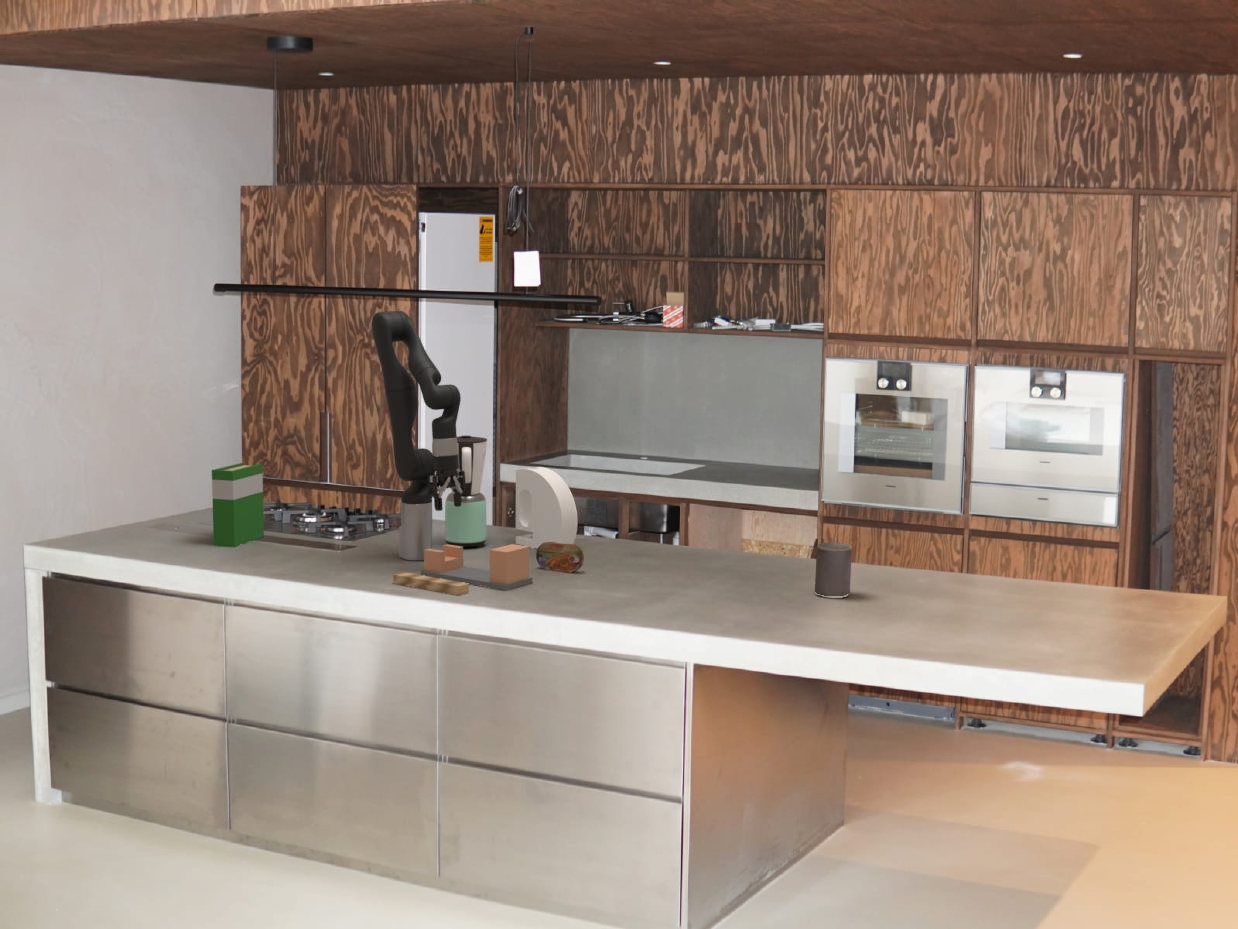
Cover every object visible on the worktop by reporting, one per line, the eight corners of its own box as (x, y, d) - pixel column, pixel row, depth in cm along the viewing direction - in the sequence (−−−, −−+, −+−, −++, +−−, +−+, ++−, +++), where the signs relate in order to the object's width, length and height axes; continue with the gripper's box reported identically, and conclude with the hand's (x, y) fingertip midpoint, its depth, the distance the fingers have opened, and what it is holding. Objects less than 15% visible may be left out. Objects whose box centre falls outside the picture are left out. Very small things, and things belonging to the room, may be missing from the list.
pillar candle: (807, 592, 390) (809, 539, 387) (838, 589, 393) (840, 536, 391) (826, 600, 381) (828, 546, 379) (857, 597, 385) (859, 543, 382)
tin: (535, 568, 415) (535, 540, 414) (540, 566, 418) (541, 539, 417) (579, 574, 408) (580, 546, 407) (585, 572, 411) (585, 544, 410)
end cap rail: (420, 575, 404) (420, 539, 402) (448, 568, 414) (448, 533, 412) (505, 590, 387) (506, 553, 385) (532, 583, 397) (532, 546, 395)
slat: (393, 585, 394) (393, 574, 393) (403, 582, 397) (403, 572, 396) (459, 597, 380) (459, 586, 380) (468, 594, 384) (468, 583, 383)
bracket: (530, 542, 455) (530, 465, 452) (577, 551, 441) (577, 471, 438) (515, 545, 450) (515, 467, 447) (562, 554, 436) (562, 474, 433)
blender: (443, 540, 455) (443, 433, 450) (485, 540, 457) (485, 432, 452) (445, 552, 436) (445, 440, 431) (489, 551, 439) (489, 440, 434)
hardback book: (243, 535, 459) (241, 462, 456) (263, 537, 457) (262, 463, 454) (213, 545, 442) (211, 470, 439) (234, 547, 440) (232, 471, 437)
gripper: (451, 450, 419) (454, 504, 420) (419, 455, 407) (422, 511, 409) (470, 451, 415) (473, 505, 416) (439, 456, 403) (442, 512, 404)
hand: (448, 508), depth 412 cm, fingers open, 8 cm apart
